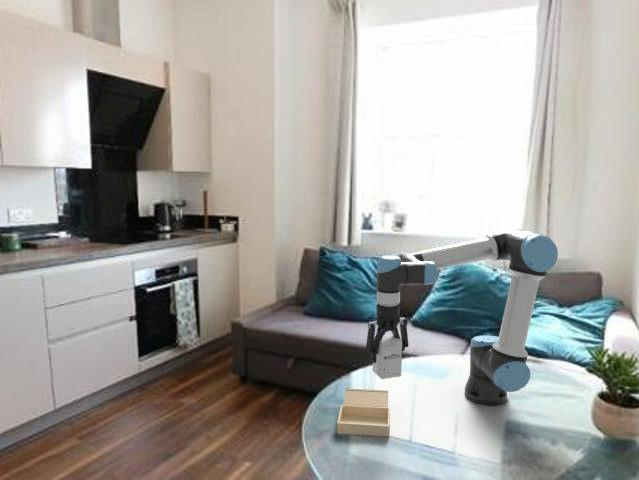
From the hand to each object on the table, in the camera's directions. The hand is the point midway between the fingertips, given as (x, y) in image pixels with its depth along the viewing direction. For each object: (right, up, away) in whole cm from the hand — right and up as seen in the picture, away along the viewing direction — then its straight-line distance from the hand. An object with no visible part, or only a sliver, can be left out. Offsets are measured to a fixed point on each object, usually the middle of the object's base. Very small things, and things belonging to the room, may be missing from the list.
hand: (386, 369), depth 160 cm
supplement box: (0, -2, 0) cm, 2 cm away
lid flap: (-6, -13, +12) cm, 19 cm away
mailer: (-7, -20, +3) cm, 22 cm away
